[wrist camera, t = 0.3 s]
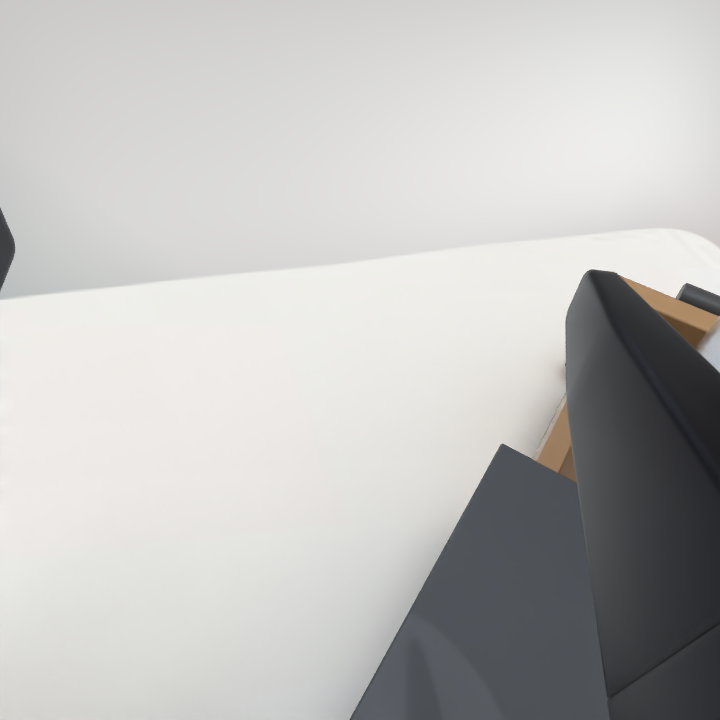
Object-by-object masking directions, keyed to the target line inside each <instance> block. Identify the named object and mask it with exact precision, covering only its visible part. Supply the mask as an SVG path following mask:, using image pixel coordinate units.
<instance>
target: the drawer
mask: <svg viewBox="0 0 720 720" xmlns="http://www.w3.org/2000/svg"><path fill="white" fill-rule="evenodd" d="M619 276H620V275H619ZM620 277H621V278H622V279H623V280H624V281H625V282H626V283H627V284H629V285H630V286H631V287H632V288H633V289H634V290H635V291H636V292H637V293H638V294H639V295H640V296H641V297H642V298H643V299H644V300H645V301H646V302H647V303H648V304H649V305H650V306H651V307H652V308H653V309H654V310H655V311H657V312H658V313H659V314H660V315H661V316H662V317H663V318H664V319H665V320H666V321H667V322H668V323H669V324H670V325H671V326H672V327H673V328H674V329H675V330H676V331H677V332H678V333H679V334H680V335H681V336H682V337H683V338H685V339H686V340H687V341H688V342H689V343H690V344H691V345H692V346H693V347H694V348H695V347H696V346H697V345H698V344H699V342H700V341H701V340H702V338H703V337H704V336H705V334H706V333H707V332H708V330H709V329H710V328H711V326H712V325H713V324H714V323H715V321H716V320H717V319H718V317H719V316H720V296H718V295H716V294H713V293H711V292H708V291H706V290H703V289H701V288H698V287H696V286H693V285H691V284H688V283H686V284H685V285H684V286H683V287H682V288H681V290H680V292H679V293H678V295H677V297H676V299H675V298H673V297H670V296H668V295H665V294H663V293H661V292H658V291H656V290H653V289H651V288H649V287H646V286H644V285H641V284H639V283H636V282H634V281H632V280H629V279H627V278H624V277H622V276H620ZM565 366H566V363H565ZM533 460H535V461H536V462H538V463H540V464H542V465H544V466H546V467H548V468H550V469H552V470H554V471H555V472H557V473H559V474H561V475H563V476H565V477H567V478H569V479H571V480H573V481H574V482H576V483H577V481H576V474H575V467H574V460H573V453H572V445H571V438H570V431H569V424H568V416H567V405H566V393H565V395H564V397H563V399H562V401H561V403H560V405H559V407H558V409H557V411H556V413H555V415H554V417H553V419H552V421H551V423H550V425H549V427H548V429H547V431H546V433H545V435H544V437H543V439H542V441H541V443H540V445H539V447H538V449H537V451H536V453H535V455H534V457H533Z"/></svg>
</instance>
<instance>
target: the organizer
mask: <svg viewBox="0 0 720 720" xmlns="http://www.w3.org/2000/svg"><path fill="white" fill-rule="evenodd" d="M608 699H610V698H608V697H607V693H606V686H605V679H604V672H603V665H602V658H601V651H600V644H599V636H598V629H597V622H596V615H595V608H594V601H593V594H592V587H591V580H590V573H589V566H588V559H587V552H586V544H585V537H584V530H583V523H582V516H581V509H580V502H579V495H578V488H577V483H576V482H574V481H573V480H571V479H569V478H567V477H565V476H563V475H561V474H559V473H557V472H555V471H554V470H552V469H550V468H548V467H546V466H544V465H542V464H540V463H538V462H536V461H535V460H533V459H531V458H529V457H527V456H525V455H523V454H521V453H519V452H517V451H516V450H514V449H512V448H510V447H508V446H506V445H504V444H501V445H500V447H499V449H498V451H497V452H496V454H495V456H494V458H493V460H492V461H491V463H490V465H489V467H488V469H487V471H486V472H485V474H484V476H483V478H482V480H481V482H480V483H479V485H478V487H477V489H476V491H475V492H474V494H473V496H472V498H471V500H470V502H469V503H468V505H467V507H466V509H465V511H464V512H463V514H462V516H461V518H460V520H459V522H458V523H457V525H456V527H455V529H454V531H453V532H452V534H451V536H450V538H449V540H448V542H447V543H446V545H445V547H444V549H443V551H442V552H441V554H440V556H439V558H438V560H437V562H436V563H435V565H434V567H433V569H432V571H431V572H430V574H429V576H428V578H427V580H426V582H425V583H424V585H423V587H422V589H421V591H420V592H419V594H418V596H417V598H416V600H415V602H414V603H413V605H412V607H411V609H410V611H409V612H408V614H407V616H406V618H405V620H404V622H403V623H402V625H401V627H400V629H399V631H398V632H397V634H396V636H395V638H394V640H393V642H392V643H391V645H390V647H389V649H388V651H387V653H386V654H385V656H384V658H383V660H382V662H381V663H380V665H379V667H378V669H377V671H376V673H375V674H374V676H373V678H372V680H371V682H370V683H369V685H368V687H367V689H366V691H365V693H364V694H363V696H362V698H361V700H360V702H359V703H358V705H357V707H356V709H355V711H354V713H353V714H352V716H351V718H350V720H610V717H609V710H608V703H607V701H608Z"/></svg>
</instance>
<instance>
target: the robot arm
mask: <svg viewBox="0 0 720 720" xmlns="http://www.w3.org/2000/svg"><path fill="white" fill-rule="evenodd" d="M14 253H15V243H14V239H13V236H12V234H11V232H10V229H9V227H8V225H7V222H6V220H5V218H4V215H3V213H2V211H1V209H0V290H1V288H2V285H3V283H4V280H5V278H6V275H7V273H8V270H9V268H10V265H11V263H12V260H13V258H14ZM565 328H566V405H567V416H568V424H569V431H570V438H571V445H572V453H573V460H574V467H575V474H576V481H577V488H578V495H579V502H580V509H581V516H582V523H583V530H584V537H585V544H586V552H587V559H588V566H589V573H590V580H591V587H592V594H593V601H594V608H595V615H596V622H597V629H598V636H599V644H600V651H601V658H602V665H603V672H604V679H605V686H606V693H607V697H608V698H610V699H608V701H607V703H608V710H609V717H610V720H720V372H719V371H718V370H717V369H716V368H715V367H714V366H712V365H711V364H710V363H709V362H708V361H707V360H706V359H705V358H704V357H703V356H702V355H701V354H700V353H699V352H698V351H697V350H696V349H695V348H694V347H693V346H692V345H691V344H690V343H689V342H688V341H687V340H686V339H685V338H683V337H682V336H681V335H680V334H679V333H678V332H677V331H676V330H675V329H674V328H673V327H672V326H671V325H670V324H669V323H668V322H667V321H666V320H665V319H664V318H663V317H662V316H661V315H660V314H659V313H658V312H657V311H655V310H654V309H653V308H652V307H651V306H650V305H649V304H648V303H647V302H646V301H645V300H644V299H643V298H642V297H641V296H640V295H639V294H638V293H637V292H636V291H635V290H634V289H633V288H632V287H631V286H630V285H629V284H627V283H626V282H625V281H624V280H623V279H622V278H621V277H620V276H619V275H618V274H617V273H615V272H609V271H601V270H589V271H587V272H586V273H585V274H584V276H583V278H582V280H581V282H580V284H579V286H578V289H577V291H576V293H575V295H574V298H573V300H572V302H571V304H570V307H569V309H568V312H567V316H566V325H565Z"/></svg>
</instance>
